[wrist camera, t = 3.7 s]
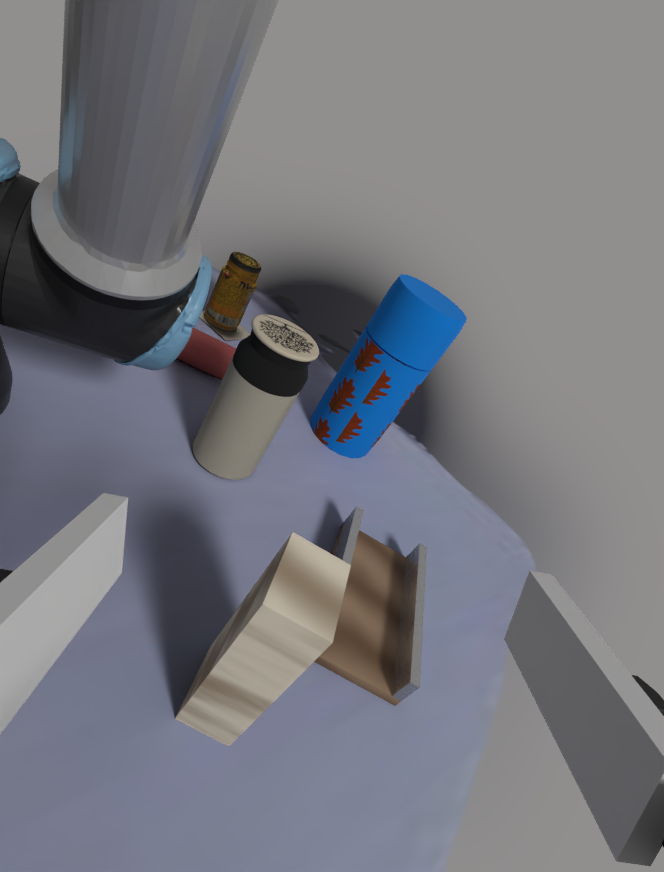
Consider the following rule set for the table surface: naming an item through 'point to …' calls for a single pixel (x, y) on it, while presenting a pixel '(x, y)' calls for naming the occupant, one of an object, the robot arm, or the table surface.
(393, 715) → the table surface
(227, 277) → the condiment
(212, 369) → the blood vessel
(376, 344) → the thermos
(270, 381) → the travel mug
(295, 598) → the pale wooden block
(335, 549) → the floor track
